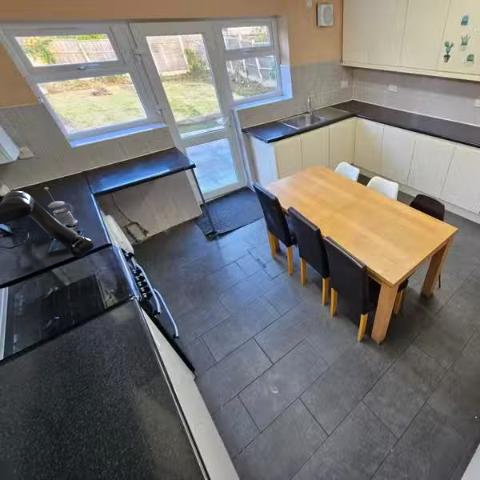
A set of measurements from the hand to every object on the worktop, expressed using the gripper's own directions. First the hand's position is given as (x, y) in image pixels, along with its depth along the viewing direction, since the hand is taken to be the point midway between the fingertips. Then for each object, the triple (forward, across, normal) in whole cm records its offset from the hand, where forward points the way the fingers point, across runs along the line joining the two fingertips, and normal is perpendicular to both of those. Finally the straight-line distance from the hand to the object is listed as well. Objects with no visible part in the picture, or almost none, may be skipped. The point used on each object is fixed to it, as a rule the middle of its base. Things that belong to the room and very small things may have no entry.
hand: (57, 226), depth 156 cm
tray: (-5, +1, +9) cm, 11 cm away
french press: (+18, -8, +9) cm, 22 cm away
